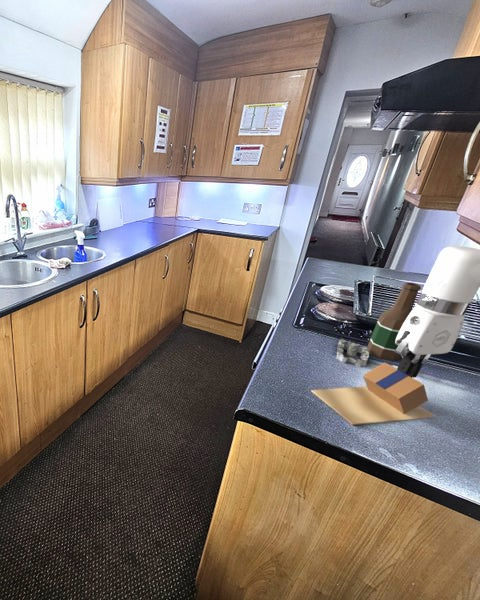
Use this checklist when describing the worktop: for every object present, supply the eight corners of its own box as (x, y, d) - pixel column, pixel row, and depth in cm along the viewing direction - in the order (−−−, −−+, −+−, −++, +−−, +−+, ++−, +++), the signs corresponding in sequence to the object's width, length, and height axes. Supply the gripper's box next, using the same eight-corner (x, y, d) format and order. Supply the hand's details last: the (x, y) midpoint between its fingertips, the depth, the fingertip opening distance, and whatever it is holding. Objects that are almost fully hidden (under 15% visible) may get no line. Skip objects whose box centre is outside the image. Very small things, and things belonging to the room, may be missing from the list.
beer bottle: (368, 347, 105) (396, 277, 96) (400, 357, 100) (434, 284, 90) (362, 356, 101) (391, 283, 91) (395, 367, 95) (430, 291, 86)
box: (389, 377, 84) (384, 362, 82) (428, 400, 76) (423, 384, 73) (368, 390, 85) (362, 375, 82) (404, 414, 76) (398, 398, 74)
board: (385, 385, 87) (386, 384, 87) (436, 418, 76) (436, 416, 76) (311, 391, 84) (311, 390, 84) (352, 425, 73) (353, 423, 73)
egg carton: (364, 371, 93) (369, 359, 91) (332, 361, 98) (336, 350, 96) (366, 355, 100) (371, 344, 99) (337, 347, 105) (341, 336, 103)
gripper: (431, 312, 67) (394, 385, 74) (491, 310, 68) (450, 382, 76) (394, 298, 73) (364, 366, 80) (450, 297, 75) (415, 364, 82)
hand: (405, 374), depth 78 cm, fingers closed
